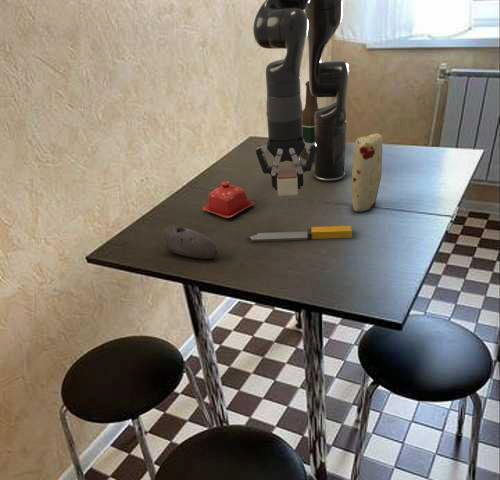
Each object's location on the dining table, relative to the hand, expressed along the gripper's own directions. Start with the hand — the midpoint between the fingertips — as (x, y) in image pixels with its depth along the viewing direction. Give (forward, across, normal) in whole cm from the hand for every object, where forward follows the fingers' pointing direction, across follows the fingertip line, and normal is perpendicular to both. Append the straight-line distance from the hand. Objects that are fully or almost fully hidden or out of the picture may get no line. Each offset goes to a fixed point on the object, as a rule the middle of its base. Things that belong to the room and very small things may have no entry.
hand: (287, 187), depth 115 cm
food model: (+15, -20, -17) cm, 31 cm away
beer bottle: (+16, -7, -59) cm, 62 cm away
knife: (+15, -2, -2) cm, 15 cm away
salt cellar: (+1, 0, 0) cm, 1 cm away
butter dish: (+15, +18, -19) cm, 30 cm away
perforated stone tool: (+15, +24, +6) cm, 29 cm away
